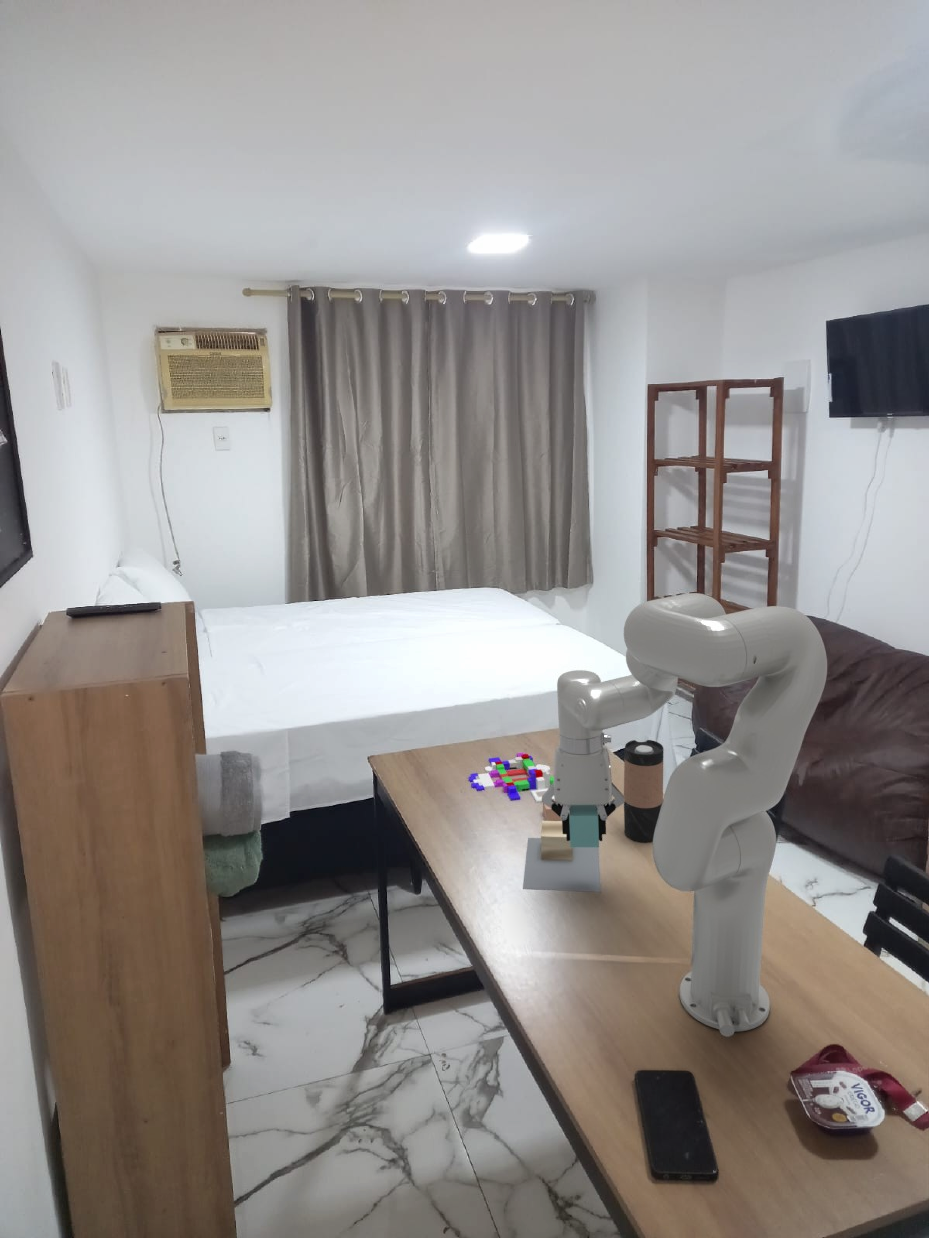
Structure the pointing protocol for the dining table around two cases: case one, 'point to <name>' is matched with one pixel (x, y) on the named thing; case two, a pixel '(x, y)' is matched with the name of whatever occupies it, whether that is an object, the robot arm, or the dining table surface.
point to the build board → (562, 870)
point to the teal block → (583, 826)
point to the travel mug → (642, 789)
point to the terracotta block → (550, 814)
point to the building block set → (536, 779)
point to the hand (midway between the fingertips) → (584, 836)
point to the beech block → (554, 842)
